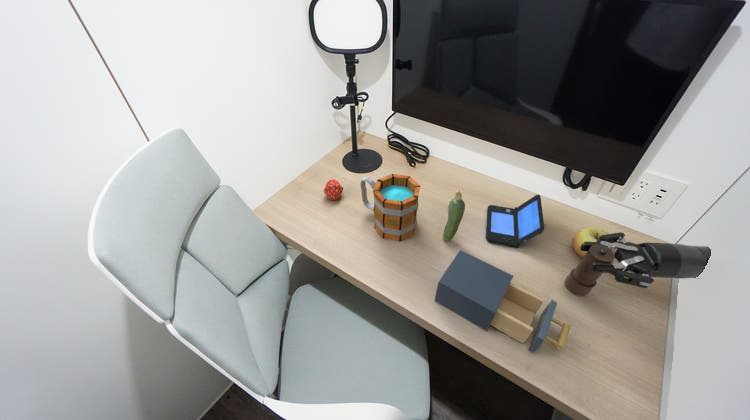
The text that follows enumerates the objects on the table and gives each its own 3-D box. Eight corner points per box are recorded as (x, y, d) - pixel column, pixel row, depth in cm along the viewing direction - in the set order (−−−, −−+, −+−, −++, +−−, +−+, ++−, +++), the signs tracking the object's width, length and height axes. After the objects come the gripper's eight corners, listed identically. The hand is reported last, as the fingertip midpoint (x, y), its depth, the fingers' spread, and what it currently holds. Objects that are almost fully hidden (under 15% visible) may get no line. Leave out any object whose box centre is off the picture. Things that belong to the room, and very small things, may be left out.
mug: (425, 221, 99) (430, 184, 88) (402, 249, 91) (404, 212, 80) (375, 197, 107) (374, 161, 97) (349, 220, 99) (345, 184, 89)
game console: (486, 207, 103) (493, 185, 96) (530, 214, 100) (540, 192, 93) (485, 242, 92) (492, 220, 85) (533, 252, 89) (545, 230, 83)
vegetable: (448, 232, 95) (459, 180, 81) (459, 240, 93) (473, 188, 79) (438, 239, 93) (448, 188, 79) (449, 248, 91) (462, 196, 77)
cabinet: (503, 295, 80) (513, 275, 74) (486, 331, 73) (495, 313, 67) (454, 269, 85) (460, 249, 79) (434, 300, 79) (438, 281, 73)
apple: (567, 236, 93) (579, 217, 88) (604, 245, 90) (619, 226, 85) (568, 261, 87) (580, 242, 81) (608, 272, 84) (624, 253, 78)
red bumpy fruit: (327, 205, 108) (324, 185, 111) (346, 201, 108) (343, 181, 111) (322, 198, 102) (320, 177, 105) (342, 194, 102) (339, 173, 105)
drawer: (565, 326, 72) (578, 312, 68) (553, 365, 66) (566, 352, 62) (495, 290, 80) (502, 274, 75) (478, 322, 74) (485, 307, 69)
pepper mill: (594, 294, 76) (625, 258, 66) (573, 298, 76) (601, 262, 66) (580, 275, 80) (607, 238, 70) (559, 278, 80) (584, 242, 70)
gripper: (659, 224, 71) (581, 221, 73) (701, 278, 61) (609, 273, 62) (641, 246, 76) (568, 242, 78) (676, 298, 66) (591, 293, 67)
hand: (586, 256), depth 70 cm, fingers closed on pepper mill, 5 cm apart
